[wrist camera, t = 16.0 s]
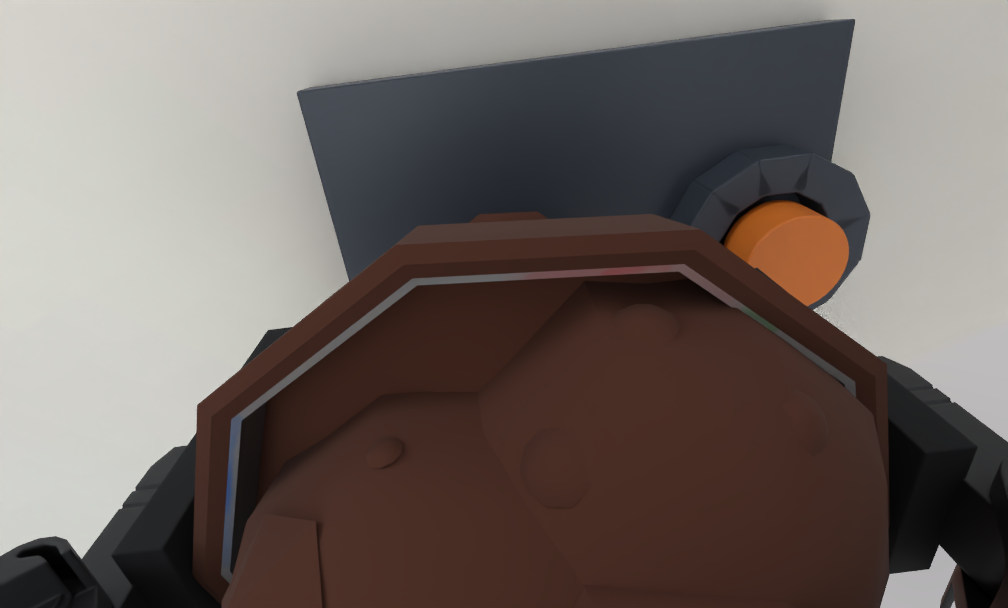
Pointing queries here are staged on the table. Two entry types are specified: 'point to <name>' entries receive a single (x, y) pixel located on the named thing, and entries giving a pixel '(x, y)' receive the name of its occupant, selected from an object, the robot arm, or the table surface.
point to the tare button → (791, 247)
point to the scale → (593, 138)
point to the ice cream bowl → (549, 434)
